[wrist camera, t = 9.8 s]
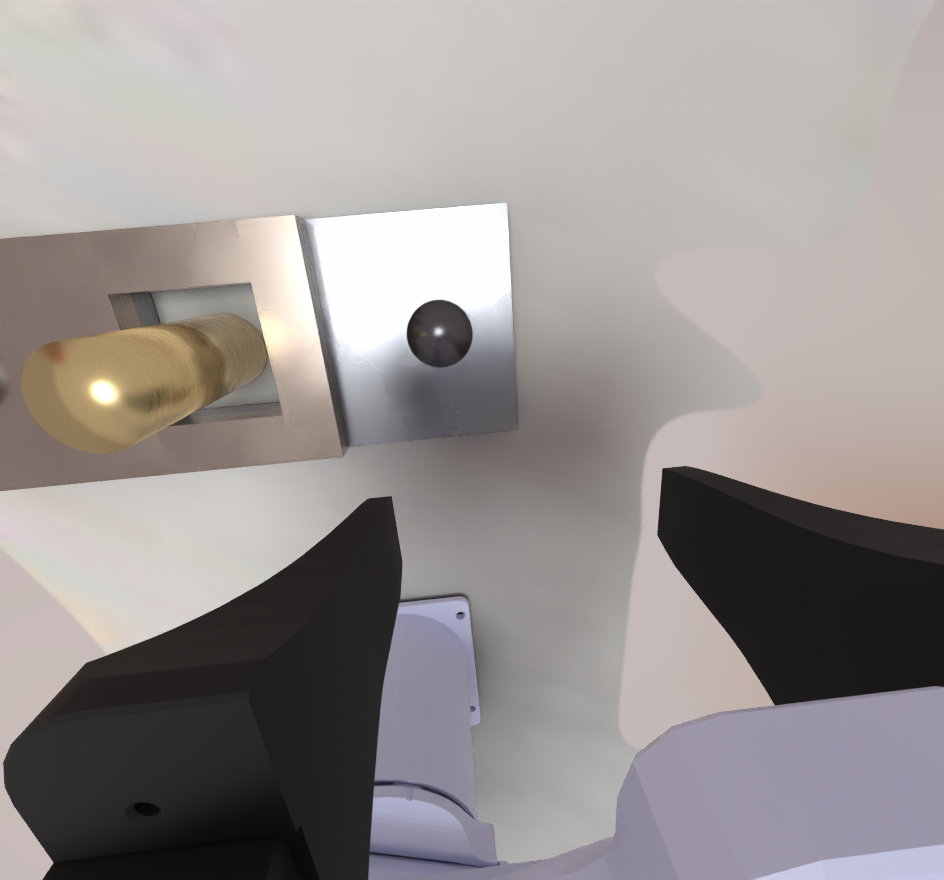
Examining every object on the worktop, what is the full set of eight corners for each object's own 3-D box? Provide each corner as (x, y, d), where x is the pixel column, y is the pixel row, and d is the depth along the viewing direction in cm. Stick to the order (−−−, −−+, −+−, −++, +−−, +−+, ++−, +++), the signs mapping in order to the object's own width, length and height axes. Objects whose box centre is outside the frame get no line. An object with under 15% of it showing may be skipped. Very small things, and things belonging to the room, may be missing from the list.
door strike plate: (503, 207, 17) (514, 193, 15) (513, 421, 21) (525, 444, 18) (-121, 259, 17) (-235, 255, 14) (-11, 473, 20) (-86, 505, 17)
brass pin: (272, 383, 19) (161, 452, 12) (202, 385, 19) (44, 455, 12) (260, 313, 18) (130, 339, 11) (185, 314, 18) (1, 340, 11)
